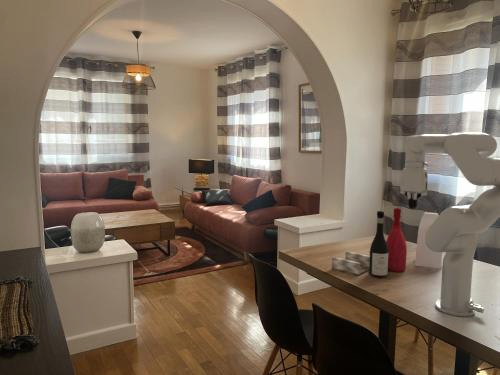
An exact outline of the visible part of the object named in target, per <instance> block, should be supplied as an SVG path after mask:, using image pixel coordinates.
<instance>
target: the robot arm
mask: <svg viewBox="0 0 500 375" xmlns="http://www.w3.org/2000/svg"><path fill="white" fill-rule="evenodd" d="M497 149H498V142H497V139H495V137H494V136H492V135H490V134H488V133H486V132H485V133H484V132H462V133H461V132H454V133H451V134H419V135H409V136H407V137H406V140H405V160H404V162H405V163H404V168H403V169H402V172H401V177H400V187H399V188H400V192H399V194H402V195H404V196H405V197H406V198H407V199H408V207H409V209H411V210H415V209H416V208H417V207H418V200H419V198H421V197H426V196H428V190H429V178H428V168H426V167H429V163H428V162H426V155H429V154H431V155H432V154H441V155H442V154H444V155H445V154H446V155H448V156H450V157H451V159H452V160H453V162H454V164H455V165H456V166H457V168H458V169H459V171H460V173H462V175H463V177H464V178H465V179H466V181H468V183H470V184H472V185H474V186H478V187H479V186H480V187H484V186H487V187H488V186H489V187H490V186H491V187H490V188H488V189H486V190H484V191H483V192H482V193H481V194H480V195H478V197H477V198H476V199H475V200H474V201H473V202H472V203H470V204H467V205H455V206H450V207H447V208H445V209H444V210H443V211H442V212H440V214H438V215H439V216H438V217H437V219H436V220H435V221H434V222H433V223H432V225H431V226H430V227H429V228H428V230H427V232H426V235H425V242H426V245H427V247H428V248H429V249H430V250H432V251H434V252H442V253H445V254H444V256H443V258H442V269H441V281H440V282H441V285H440V299H437V301H436V302H435V304H434V305H435V308H436V309H437V310H439V311H440V312H442V313H444V314H447V315H450V316H454V317H463V316H464V317H465V318H466V317H471V316H473V315H475V312H477V313H481V314H483V313H484V311H485V308H484V307H482V305H481V304H477V303H475V302H474V301H473V298H471V297H472V296H471V294H472V283H473V282H472V281H473V280H472V279H473V269H474V257H475V253H476V250H477V247H478V242H479V236H478V234H481V233H484V232H485V231H487V230H488V229H489V228H491V226H492V225H493V224H494V223H496V221H497V220H498V219H500V157H497V158H496V157H494V158H493V157H492V158H491V156H492V155H494V153H495V152H496V151H497ZM464 317H463V318H464Z"/></svg>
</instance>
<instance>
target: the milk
mask: <svg viewBox="0 0 500 375" xmlns="http://www.w3.org/2000/svg"><path fill="white" fill-rule="evenodd" d="M439 215H440V214H438V213H437V212H424V213H423V215H422V217H421V220H420V223H419V226H418V230H417V240H416V249H415V258H414V266H419V267H424V268H432V269H433V268H434V269H438V270H439V269H441V270H442V265H443V258H442V257H443V252H434V251H432V250H430V249H429V248H428V247H427V245H426V242H425V235H426V232H427V230H428V228H429V227H430V226H431V225H432V223H433V222H434V221H435V220H436V219H437V217H438V216H439Z"/></svg>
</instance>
